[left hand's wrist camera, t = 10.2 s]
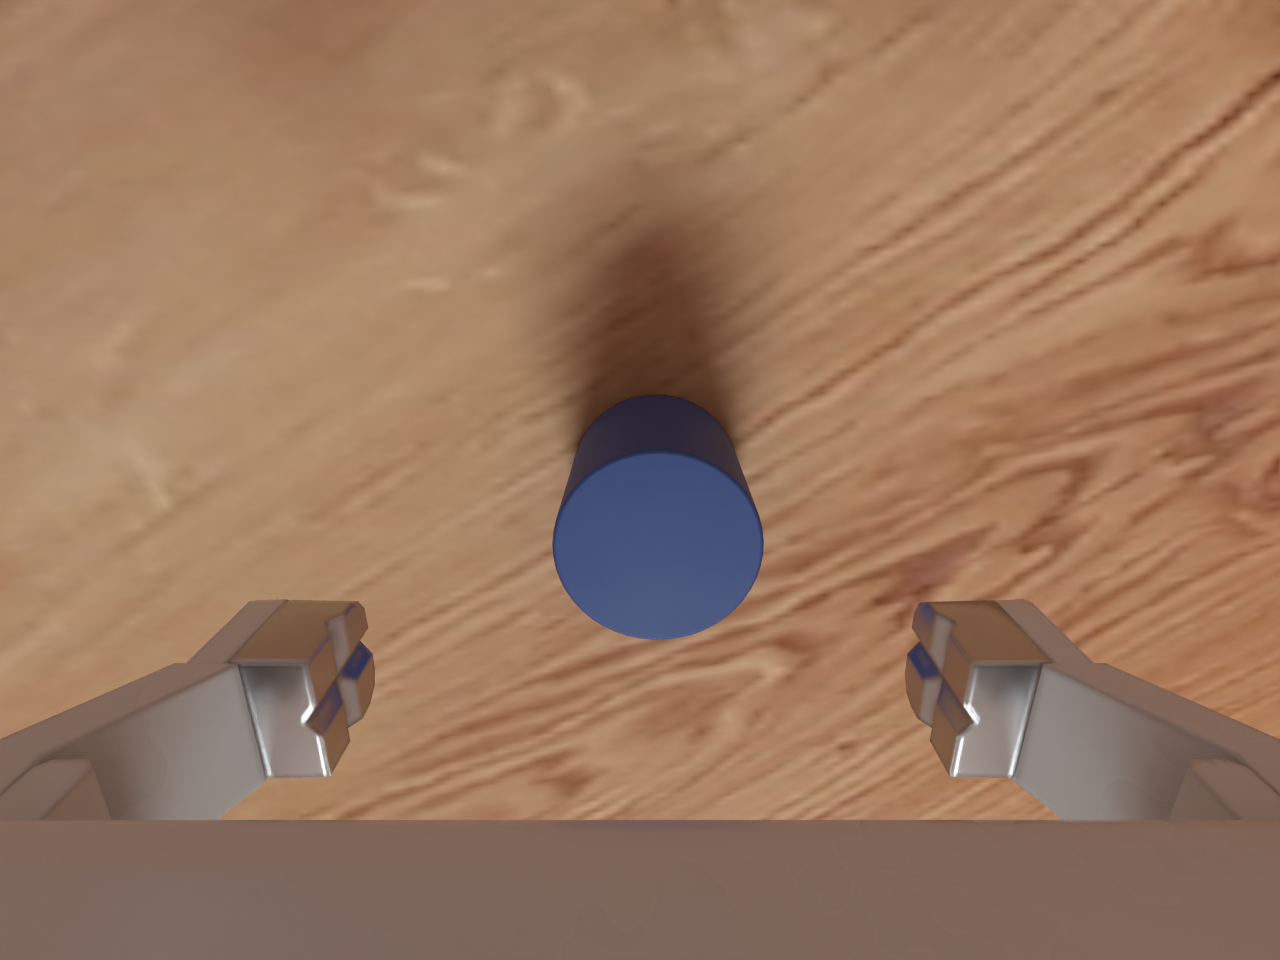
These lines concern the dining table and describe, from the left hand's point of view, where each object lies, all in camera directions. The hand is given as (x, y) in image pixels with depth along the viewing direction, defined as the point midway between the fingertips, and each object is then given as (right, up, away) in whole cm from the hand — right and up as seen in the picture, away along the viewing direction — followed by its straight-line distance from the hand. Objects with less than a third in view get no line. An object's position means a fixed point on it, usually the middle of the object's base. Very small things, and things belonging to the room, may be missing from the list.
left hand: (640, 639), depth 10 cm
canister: (0, +3, +8) cm, 9 cm away
